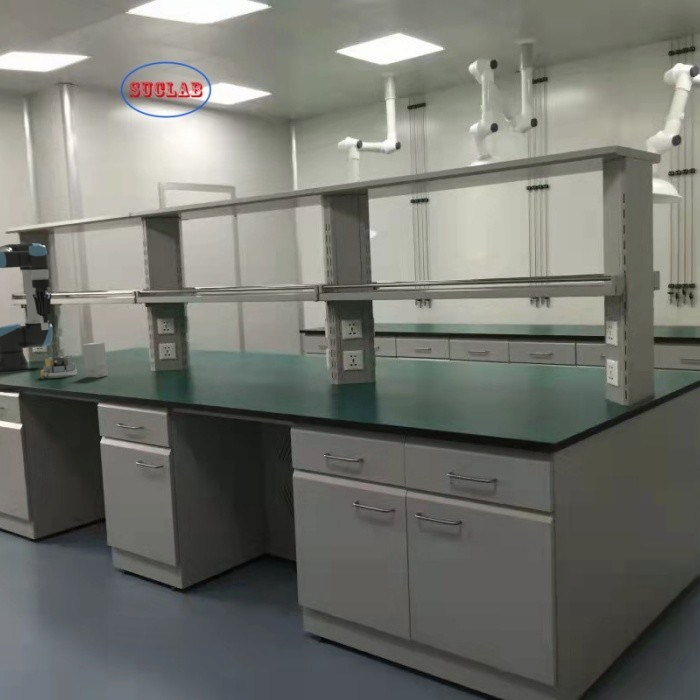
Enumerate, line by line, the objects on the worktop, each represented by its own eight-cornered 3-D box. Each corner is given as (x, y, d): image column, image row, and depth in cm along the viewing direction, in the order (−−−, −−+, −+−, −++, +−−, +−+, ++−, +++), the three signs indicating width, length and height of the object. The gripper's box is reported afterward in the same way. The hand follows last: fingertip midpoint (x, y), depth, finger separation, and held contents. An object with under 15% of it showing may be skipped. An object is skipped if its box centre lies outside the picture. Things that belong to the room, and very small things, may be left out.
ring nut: (59, 372, 352) (57, 359, 351) (37, 371, 358) (36, 359, 358) (81, 368, 364) (80, 355, 364) (60, 367, 371) (59, 355, 370)
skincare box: (108, 375, 353) (105, 342, 351) (96, 378, 347) (93, 344, 346) (96, 375, 358) (93, 342, 356) (84, 377, 352) (81, 343, 350)
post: (41, 378, 355) (40, 370, 354) (44, 378, 356) (44, 369, 355) (41, 379, 353) (40, 370, 353) (45, 378, 354) (44, 370, 354)
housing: (43, 375, 366) (41, 357, 365) (76, 372, 371) (74, 354, 370) (44, 379, 352) (42, 360, 351) (78, 376, 358) (76, 357, 357)
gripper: (55, 278, 351) (60, 329, 354) (40, 278, 359) (45, 328, 362) (39, 279, 345) (44, 330, 348) (25, 279, 354) (30, 330, 356)
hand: (45, 329), depth 355 cm, fingers closed
